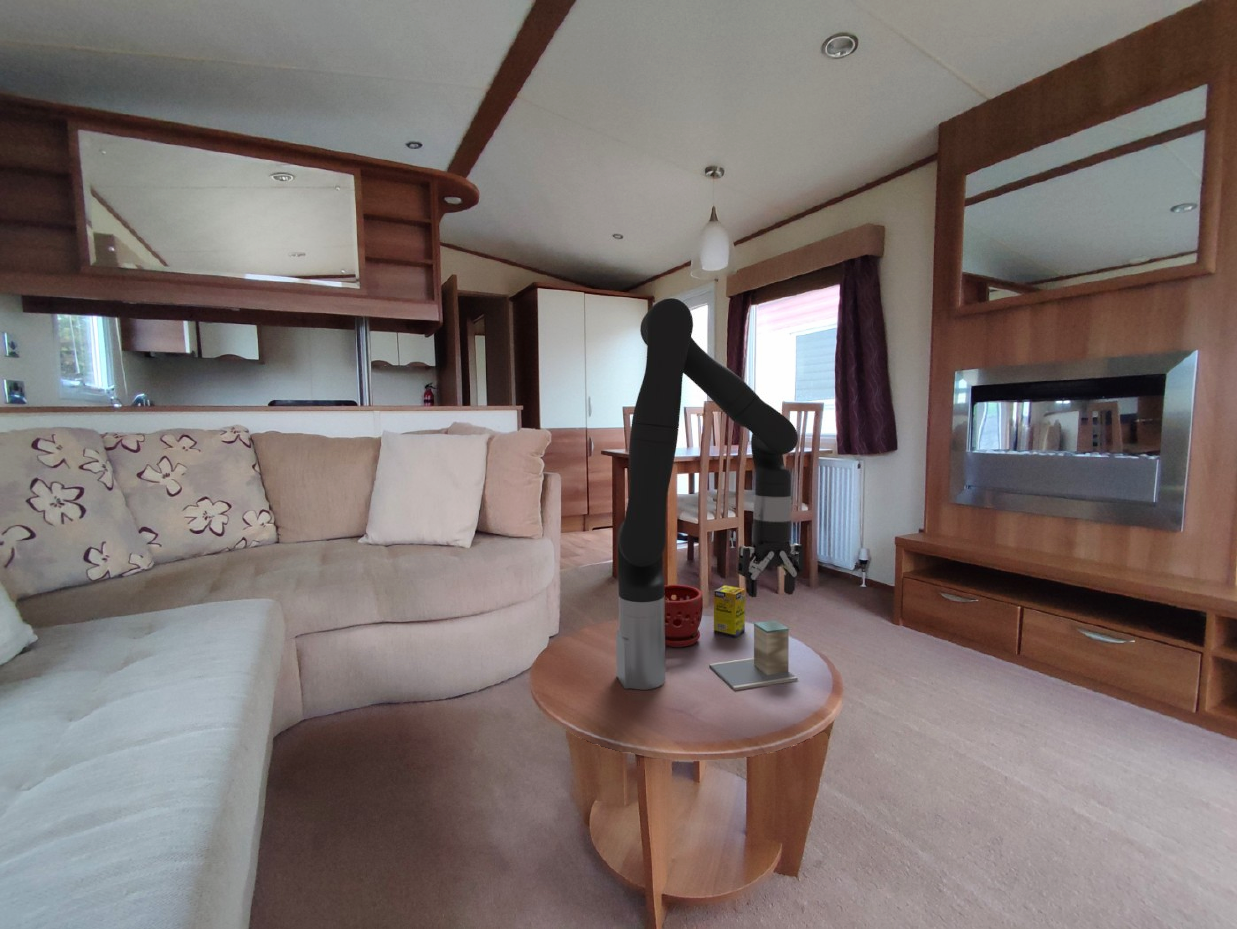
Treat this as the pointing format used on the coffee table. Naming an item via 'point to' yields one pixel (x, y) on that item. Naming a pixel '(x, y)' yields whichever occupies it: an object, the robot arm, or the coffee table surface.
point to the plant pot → (682, 615)
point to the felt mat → (748, 674)
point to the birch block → (771, 647)
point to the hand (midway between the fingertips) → (770, 594)
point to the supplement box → (729, 611)
